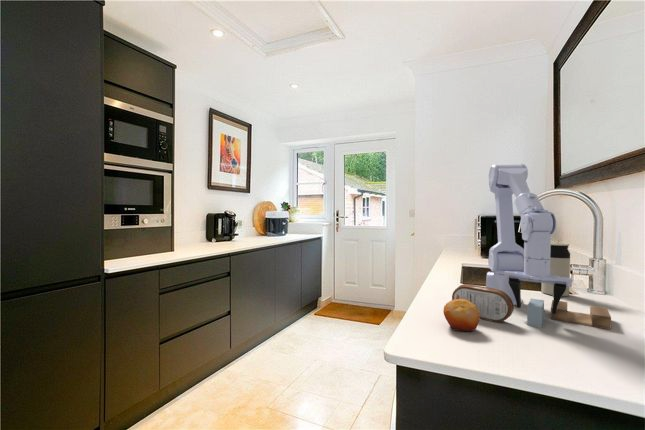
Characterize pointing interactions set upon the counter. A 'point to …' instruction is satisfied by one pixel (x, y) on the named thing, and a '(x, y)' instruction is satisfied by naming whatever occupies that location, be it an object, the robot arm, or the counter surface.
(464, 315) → the fruit
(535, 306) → the pale blue tapered bar
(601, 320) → the slot block
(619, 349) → the counter surface
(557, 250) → the travel mug
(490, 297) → the tin
